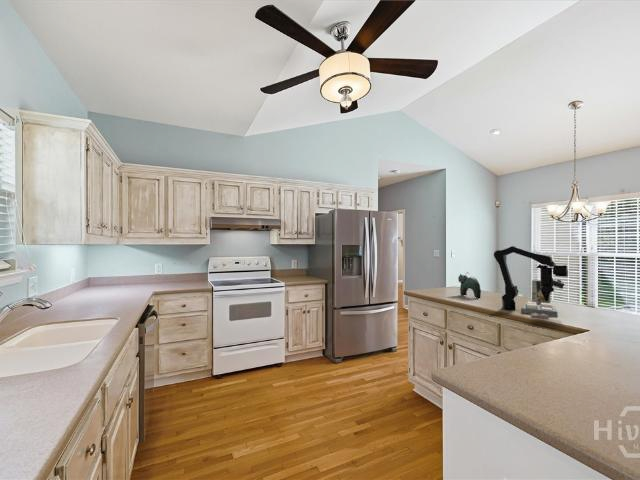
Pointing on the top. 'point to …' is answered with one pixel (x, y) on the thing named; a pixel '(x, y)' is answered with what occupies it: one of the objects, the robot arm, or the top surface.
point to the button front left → (532, 306)
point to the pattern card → (539, 315)
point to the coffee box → (538, 293)
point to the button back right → (546, 305)
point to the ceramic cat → (469, 285)
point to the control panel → (538, 310)
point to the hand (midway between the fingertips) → (546, 301)
